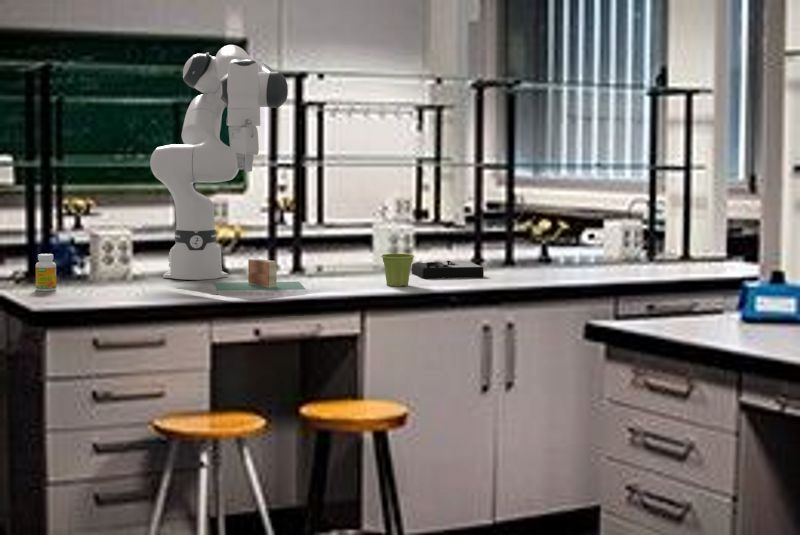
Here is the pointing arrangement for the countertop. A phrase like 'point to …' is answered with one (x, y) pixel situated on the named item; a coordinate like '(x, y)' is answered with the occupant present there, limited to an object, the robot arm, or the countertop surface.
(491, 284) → the countertop surface
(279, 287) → the green mat
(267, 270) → the brown wood block
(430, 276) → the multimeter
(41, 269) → the supplement bottle
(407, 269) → the plant pot
